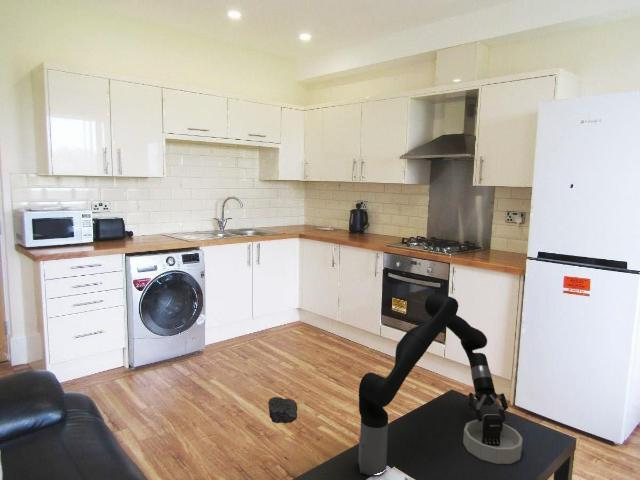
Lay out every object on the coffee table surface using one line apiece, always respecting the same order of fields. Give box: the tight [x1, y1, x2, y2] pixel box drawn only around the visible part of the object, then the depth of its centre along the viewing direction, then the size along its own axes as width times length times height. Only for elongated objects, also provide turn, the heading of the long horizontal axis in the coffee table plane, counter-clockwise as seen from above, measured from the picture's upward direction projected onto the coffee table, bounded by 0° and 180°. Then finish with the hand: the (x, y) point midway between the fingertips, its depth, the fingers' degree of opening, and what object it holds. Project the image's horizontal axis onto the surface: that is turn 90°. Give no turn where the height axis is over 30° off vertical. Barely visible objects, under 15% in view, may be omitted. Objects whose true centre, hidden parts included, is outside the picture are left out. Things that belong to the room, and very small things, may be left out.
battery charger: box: [481, 413, 504, 446], centre depth 167 cm, size 7×4×11 cm, turn 90°
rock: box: [268, 396, 298, 425], centre depth 186 cm, size 13×6×15 cm
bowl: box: [462, 419, 523, 465], centre depth 167 cm, size 20×20×6 cm
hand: (491, 421), depth 168 cm, fingers open, 8 cm apart
